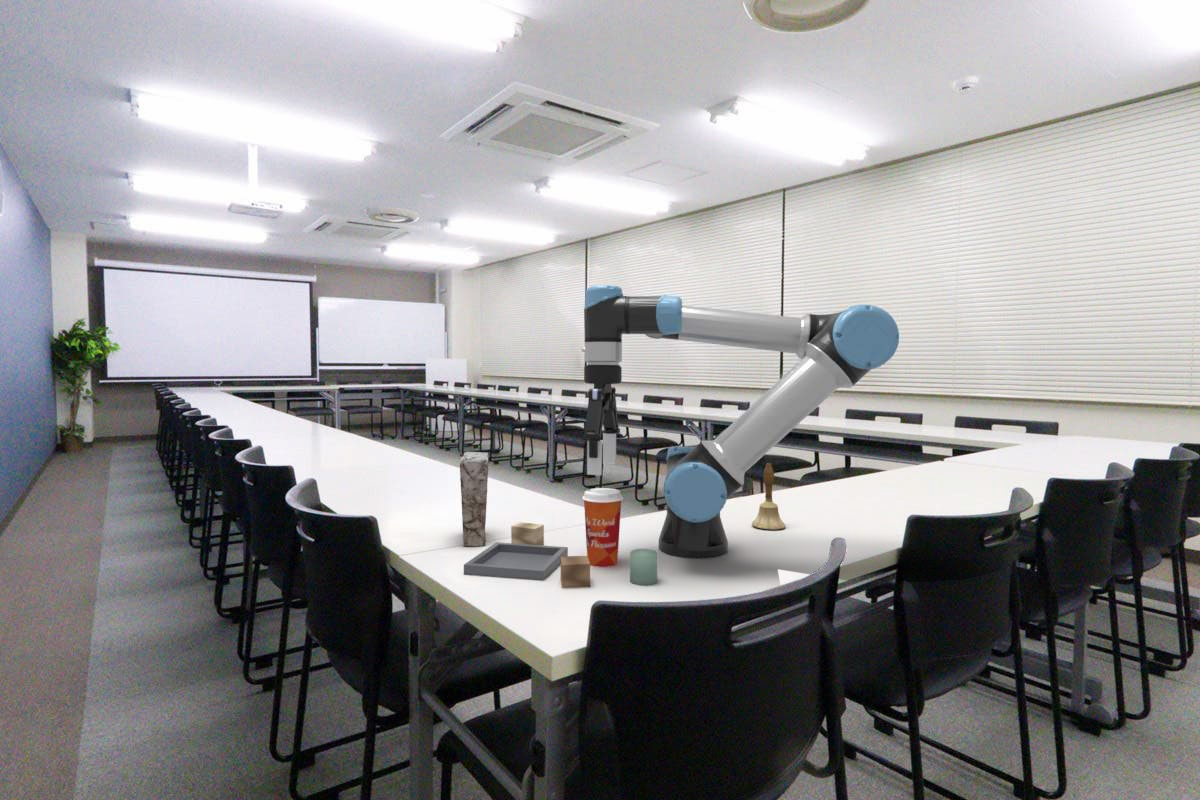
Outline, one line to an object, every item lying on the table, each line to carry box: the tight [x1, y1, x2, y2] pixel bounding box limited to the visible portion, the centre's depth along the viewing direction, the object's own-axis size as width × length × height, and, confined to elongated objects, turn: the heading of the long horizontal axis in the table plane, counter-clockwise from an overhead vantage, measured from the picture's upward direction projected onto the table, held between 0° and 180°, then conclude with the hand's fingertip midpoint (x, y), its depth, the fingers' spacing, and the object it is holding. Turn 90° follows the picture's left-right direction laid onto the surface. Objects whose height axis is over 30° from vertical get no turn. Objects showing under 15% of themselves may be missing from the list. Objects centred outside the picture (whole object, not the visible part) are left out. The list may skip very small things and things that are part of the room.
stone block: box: [459, 451, 489, 547], centre depth 146 cm, size 13×7×20 cm, turn 15°
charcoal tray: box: [463, 541, 569, 582], centre depth 126 cm, size 16×16×2 cm
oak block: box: [510, 522, 545, 546], centre depth 140 cm, size 6×4×5 cm, turn 67°
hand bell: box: [751, 462, 786, 531], centre depth 160 cm, size 8×8×16 cm
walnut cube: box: [560, 555, 591, 589], centre depth 115 cm, size 5×5×5 cm
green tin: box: [629, 548, 658, 587], centre depth 116 cm, size 5×5×6 cm
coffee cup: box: [581, 487, 624, 568], centre depth 128 cm, size 8×8×15 cm
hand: (602, 469), depth 127 cm, fingers open, 13 cm apart
